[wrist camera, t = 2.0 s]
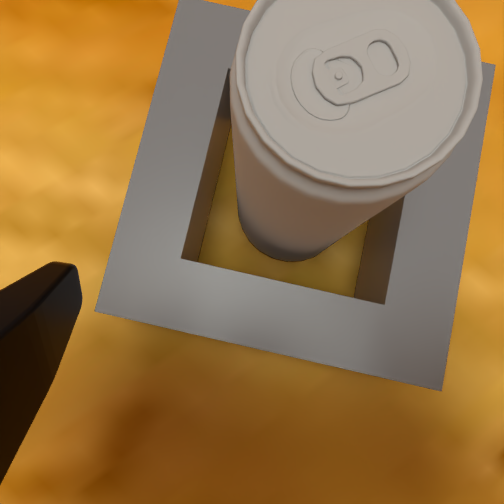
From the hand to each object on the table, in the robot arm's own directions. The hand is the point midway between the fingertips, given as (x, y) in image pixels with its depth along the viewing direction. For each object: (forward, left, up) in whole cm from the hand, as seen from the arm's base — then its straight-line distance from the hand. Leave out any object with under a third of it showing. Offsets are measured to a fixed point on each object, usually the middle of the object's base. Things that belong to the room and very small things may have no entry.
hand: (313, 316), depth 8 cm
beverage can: (+3, -3, -11) cm, 12 cm away
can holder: (+3, -3, -11) cm, 12 cm away
